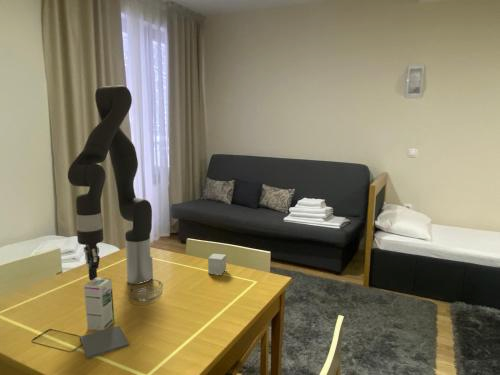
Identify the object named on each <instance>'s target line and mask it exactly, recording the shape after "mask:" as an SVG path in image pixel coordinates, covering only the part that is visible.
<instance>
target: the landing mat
mask: <svg viewBox="0 0 500 375" xmlns="http://www.w3.org/2000/svg"><path fill="white" fill-rule="evenodd" d="M79 339H80V342H81V344H82V346H81V347H82V348H83V351H84V354H85V357H86V360H88V359H91V358H94V357H99V356H101V355H104V354H106V353H107V354H108V353H111V352H114V351H117V350H119V349H123V348H126V347H129V346H130V343H129V340H128V339H127V337H126V335H125V333H124V331H123V330H122V328H121V326H120V325H116V326H112V327H108V328H107V329H105V330H101V331H94V332H91V333H88V334H84V335H79Z"/></svg>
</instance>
